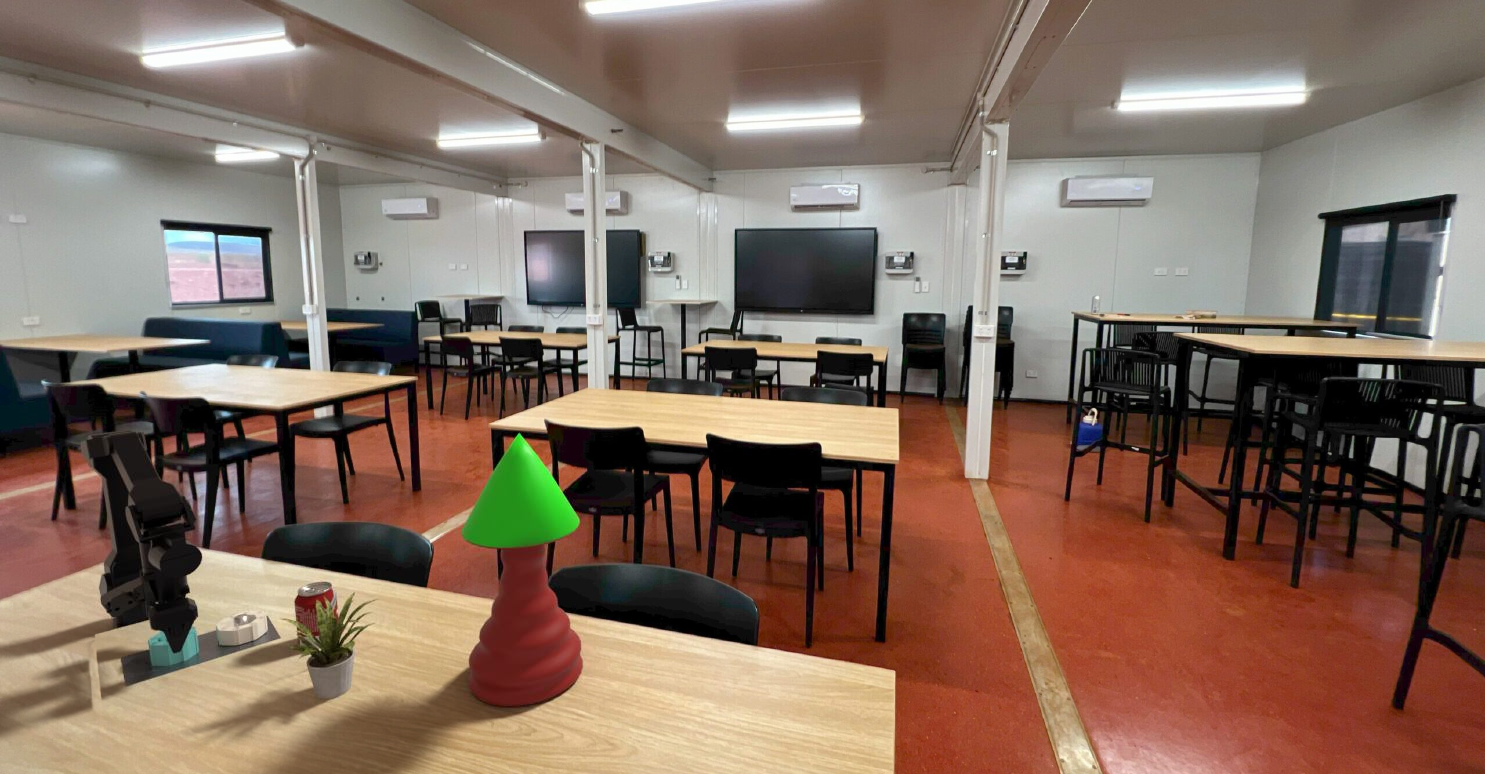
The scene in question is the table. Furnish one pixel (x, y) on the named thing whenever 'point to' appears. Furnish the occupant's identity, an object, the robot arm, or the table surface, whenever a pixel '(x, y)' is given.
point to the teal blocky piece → (164, 654)
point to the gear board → (209, 649)
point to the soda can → (313, 606)
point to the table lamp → (522, 585)
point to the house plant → (330, 650)
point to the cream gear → (241, 628)
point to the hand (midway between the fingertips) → (173, 642)
